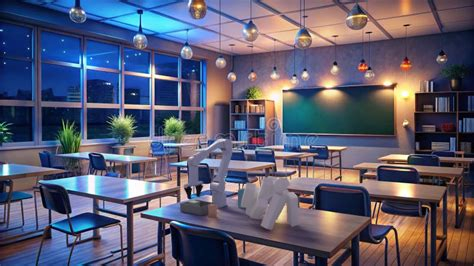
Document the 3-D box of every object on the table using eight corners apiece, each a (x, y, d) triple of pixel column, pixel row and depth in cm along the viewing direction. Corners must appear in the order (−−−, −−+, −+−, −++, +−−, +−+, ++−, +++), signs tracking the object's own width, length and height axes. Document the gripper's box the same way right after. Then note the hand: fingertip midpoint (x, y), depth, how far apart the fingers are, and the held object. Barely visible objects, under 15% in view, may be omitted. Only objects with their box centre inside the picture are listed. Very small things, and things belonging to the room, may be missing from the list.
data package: (256, 209, 233) (256, 190, 233) (252, 210, 230) (252, 191, 229) (242, 206, 241) (242, 187, 240) (237, 207, 237) (237, 188, 237)
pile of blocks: (225, 232, 203) (226, 180, 185) (251, 201, 225) (255, 153, 208) (283, 259, 188) (291, 207, 170) (305, 224, 210) (314, 174, 193)
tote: (196, 207, 238) (196, 199, 238) (216, 211, 227) (216, 203, 227) (180, 211, 227) (180, 203, 227) (200, 215, 216) (200, 207, 216)
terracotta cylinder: (212, 215, 218) (212, 203, 218) (218, 216, 215) (218, 204, 215) (206, 216, 214) (206, 204, 214) (212, 218, 211) (212, 206, 211)
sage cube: (194, 208, 233) (194, 200, 233) (199, 209, 230) (199, 201, 230) (188, 209, 229) (188, 201, 229) (194, 211, 226) (193, 202, 226)
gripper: (189, 178, 221) (189, 200, 221) (206, 175, 232) (206, 196, 233) (181, 176, 225) (181, 199, 226) (198, 174, 237) (198, 195, 237)
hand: (193, 197), depth 230 cm, fingers open, 7 cm apart
